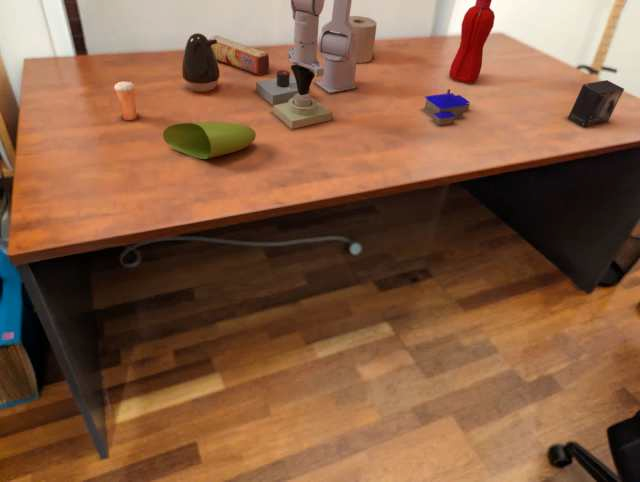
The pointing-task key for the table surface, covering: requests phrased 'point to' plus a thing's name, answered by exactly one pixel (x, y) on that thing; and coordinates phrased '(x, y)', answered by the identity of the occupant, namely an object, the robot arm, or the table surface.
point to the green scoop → (208, 138)
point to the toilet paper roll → (363, 37)
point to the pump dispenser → (200, 64)
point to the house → (445, 107)
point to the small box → (595, 103)
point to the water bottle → (472, 42)
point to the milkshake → (126, 99)
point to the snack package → (240, 55)
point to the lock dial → (283, 78)
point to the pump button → (302, 100)
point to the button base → (301, 113)
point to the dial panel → (277, 90)
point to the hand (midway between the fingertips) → (303, 93)
